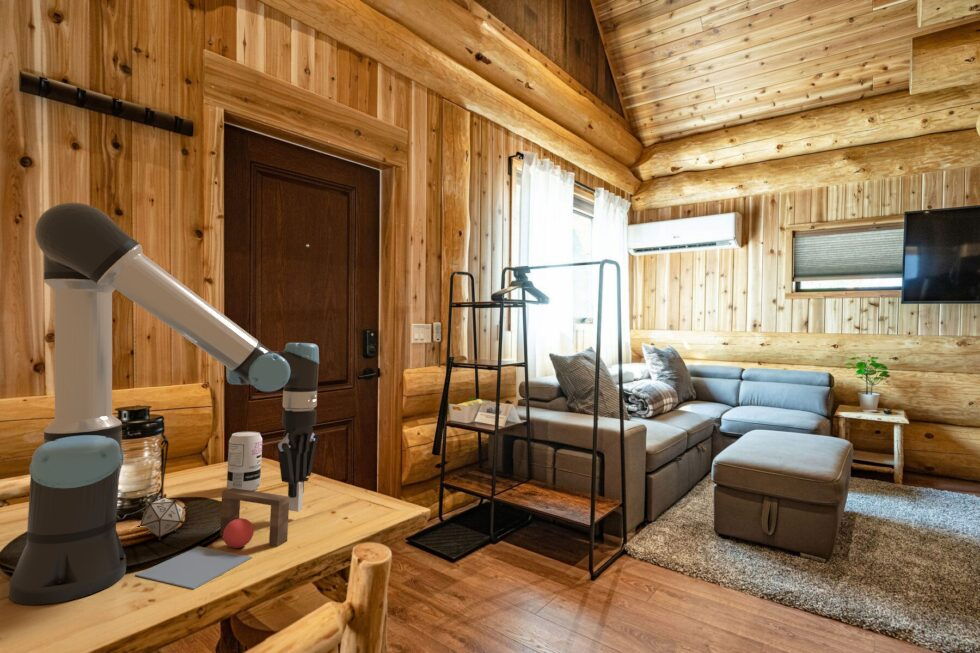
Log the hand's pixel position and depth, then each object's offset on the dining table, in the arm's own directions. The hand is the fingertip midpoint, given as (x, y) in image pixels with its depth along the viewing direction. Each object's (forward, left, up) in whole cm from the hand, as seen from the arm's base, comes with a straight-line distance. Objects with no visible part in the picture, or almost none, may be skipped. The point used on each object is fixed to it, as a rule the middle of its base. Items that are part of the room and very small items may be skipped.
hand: (295, 509), depth 118 cm
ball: (-17, 0, +1) cm, 18 cm away
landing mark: (-27, 0, -2) cm, 27 cm away
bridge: (-13, 0, -2) cm, 13 cm away
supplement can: (+13, +27, -2) cm, 30 cm away
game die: (-19, +18, -2) cm, 26 cm away
